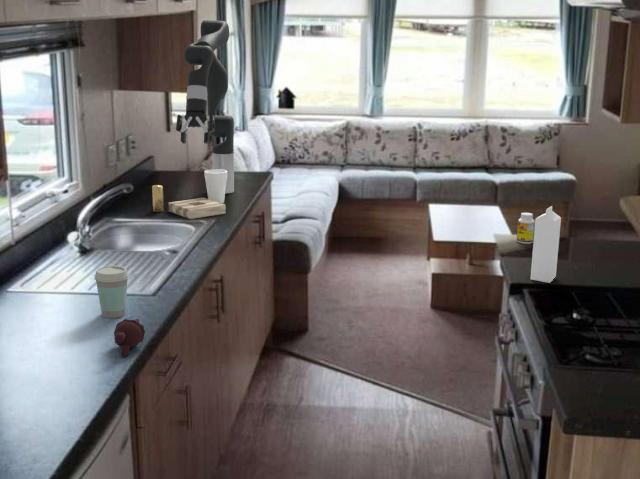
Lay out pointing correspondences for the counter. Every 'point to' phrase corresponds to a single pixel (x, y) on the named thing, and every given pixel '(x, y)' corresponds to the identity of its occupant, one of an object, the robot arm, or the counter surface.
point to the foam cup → (216, 184)
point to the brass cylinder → (157, 198)
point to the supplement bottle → (525, 228)
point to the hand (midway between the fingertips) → (194, 143)
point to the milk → (545, 246)
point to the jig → (197, 208)
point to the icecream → (128, 335)
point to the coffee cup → (112, 290)
